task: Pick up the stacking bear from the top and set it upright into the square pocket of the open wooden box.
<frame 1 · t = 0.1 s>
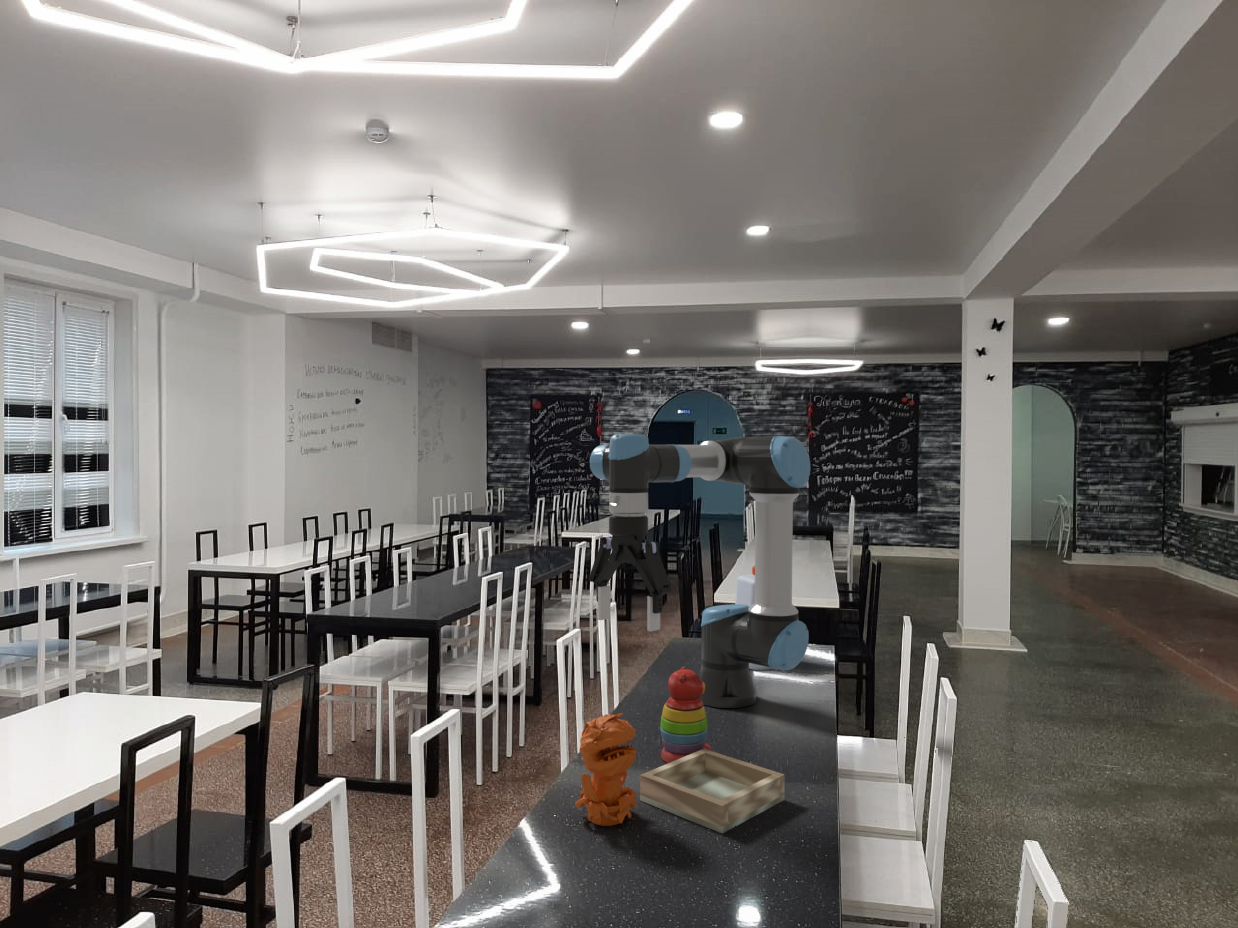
hand: (628, 624, 161), 28 cm above the table, tool pointing down, fingers open, 13 cm apart
stacking bear: (685, 759, 167), on the table
toy dinosaur: (607, 819, 139), on the table
plastic bottle: (762, 664, 240), on the table
open wooden box: (712, 799, 147), on the table
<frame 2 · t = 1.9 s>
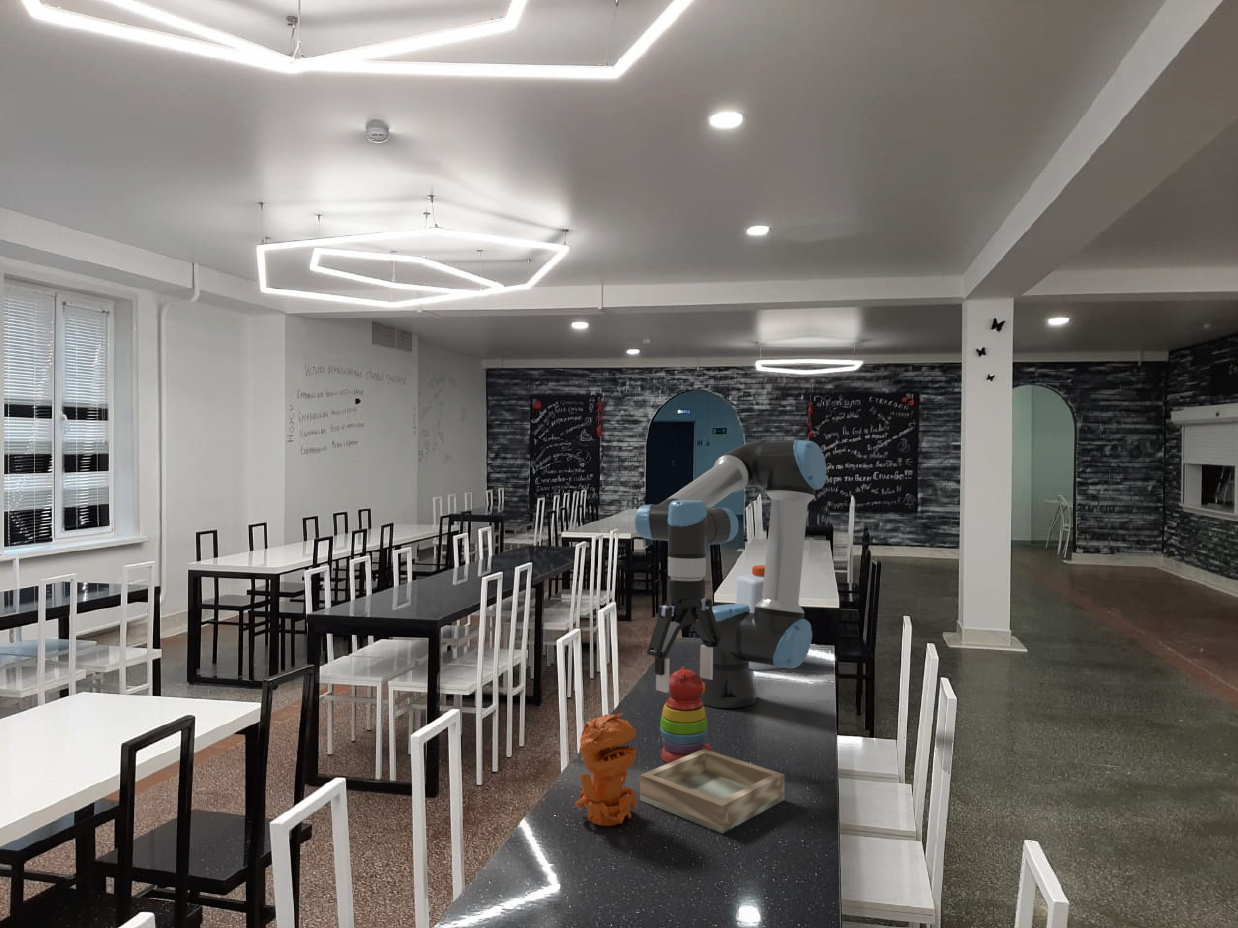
hand: (685, 684, 166), 15 cm above the table, tool pointing down, fingers open, 13 cm apart
nothing on the table moved.
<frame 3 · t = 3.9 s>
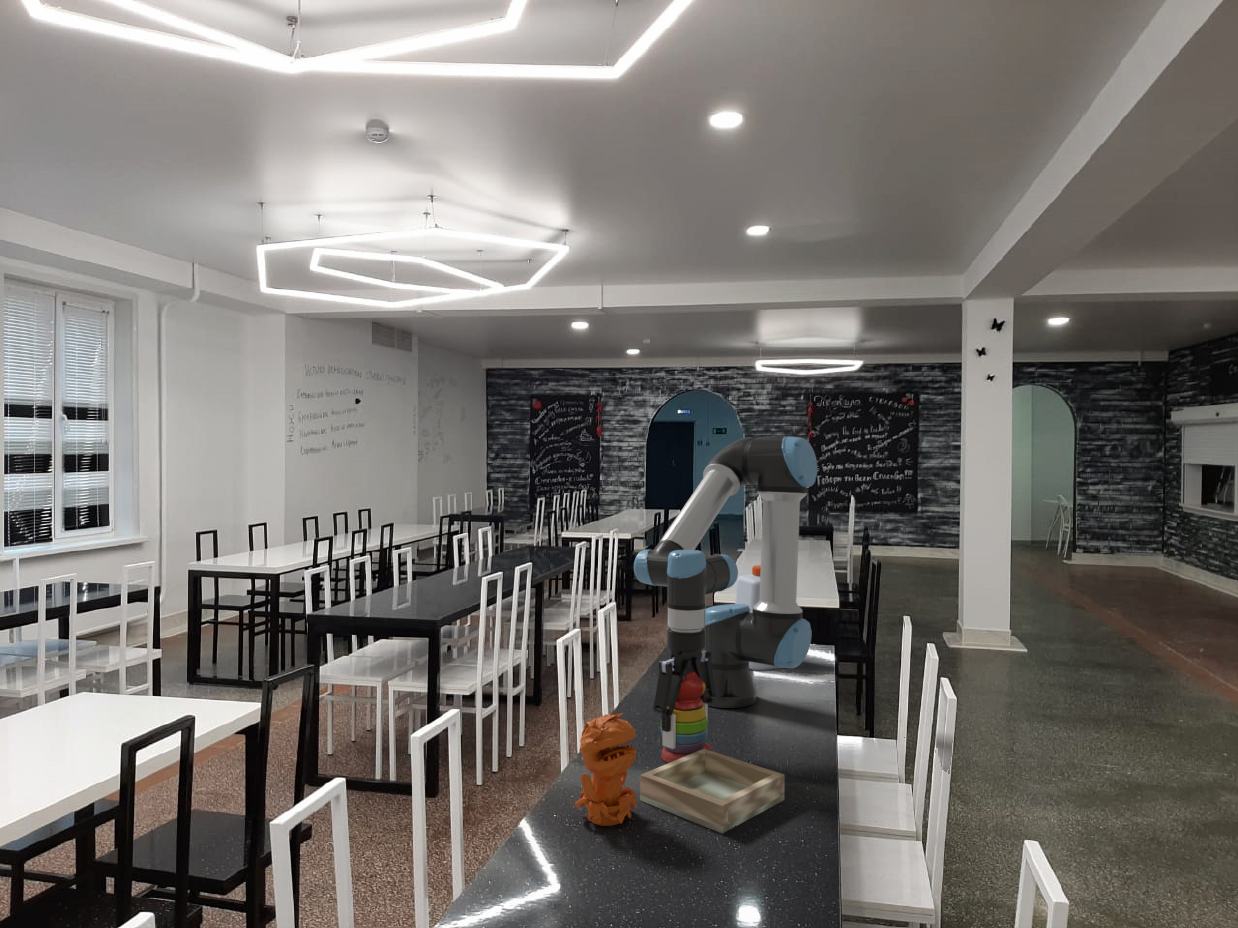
hand: (685, 740, 166), 4 cm above the table, tool pointing down, fingers closed on stacking bear, 9 cm apart
stacking bear: (685, 759, 167), on the table, touching gripper
everything else where it was.
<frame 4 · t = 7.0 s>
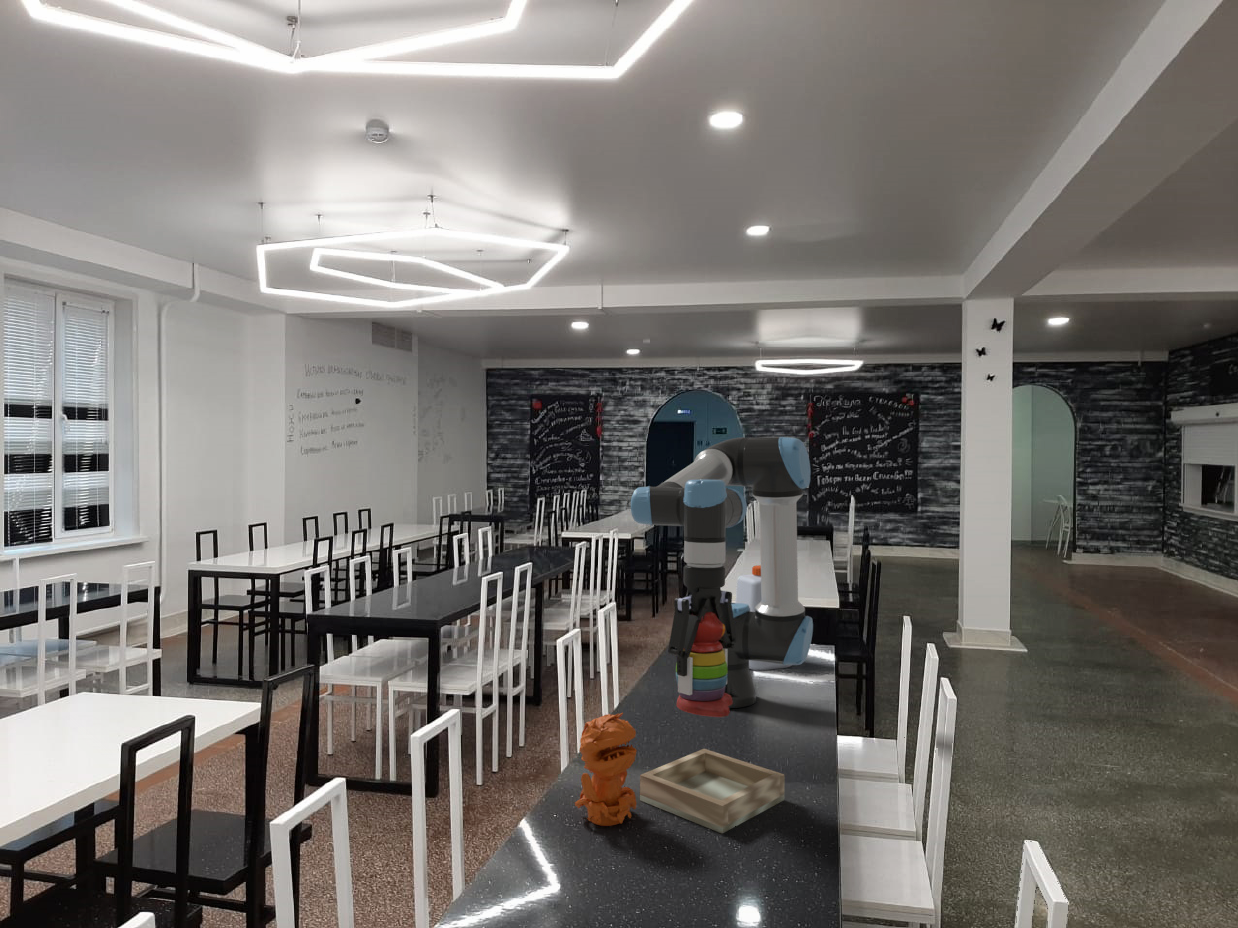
hand: (703, 687, 151), 18 cm above the table, tool pointing down, fingers closed on stacking bear, 9 cm apart
stacking bear: (703, 708, 152), point 15 cm above the table, touching gripper
everything else where it was.
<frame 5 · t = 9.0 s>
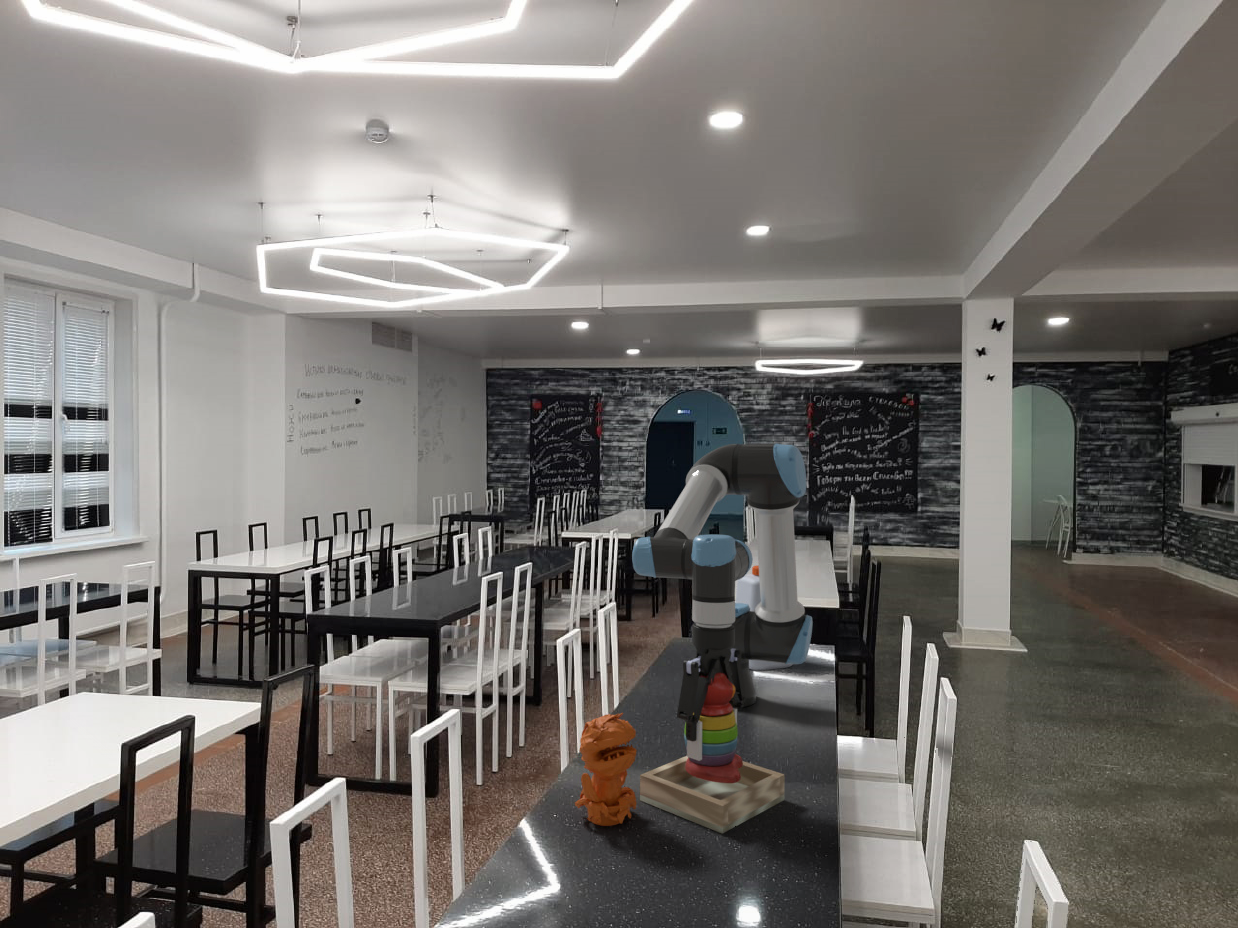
hand: (712, 750, 147), 9 cm above the table, tool pointing down, fingers closed on stacking bear, 9 cm apart
stacking bear: (712, 771, 147), point 5 cm above the table, touching gripper
everything else where it was.
when the fingers open (6 cm above the table, at t = 10.4 s): stacking bear drops 2 cm, resting on open wooden box.
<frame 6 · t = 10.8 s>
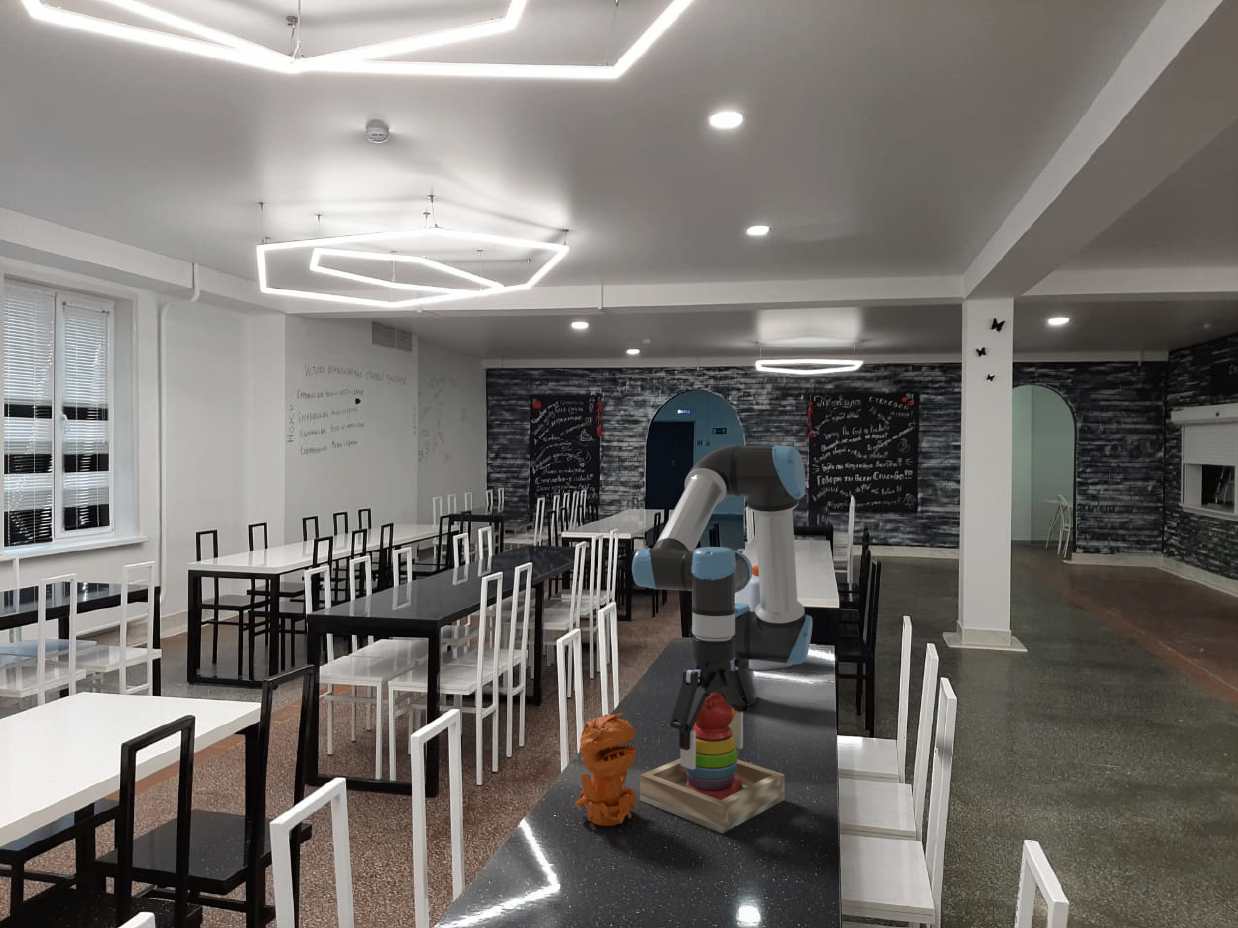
hand: (712, 756, 147), 8 cm above the table, tool pointing down, fingers open, 13 cm apart
stacking bear: (712, 794, 147), point 1 cm above the table, touching open wooden box
everything else where it was.
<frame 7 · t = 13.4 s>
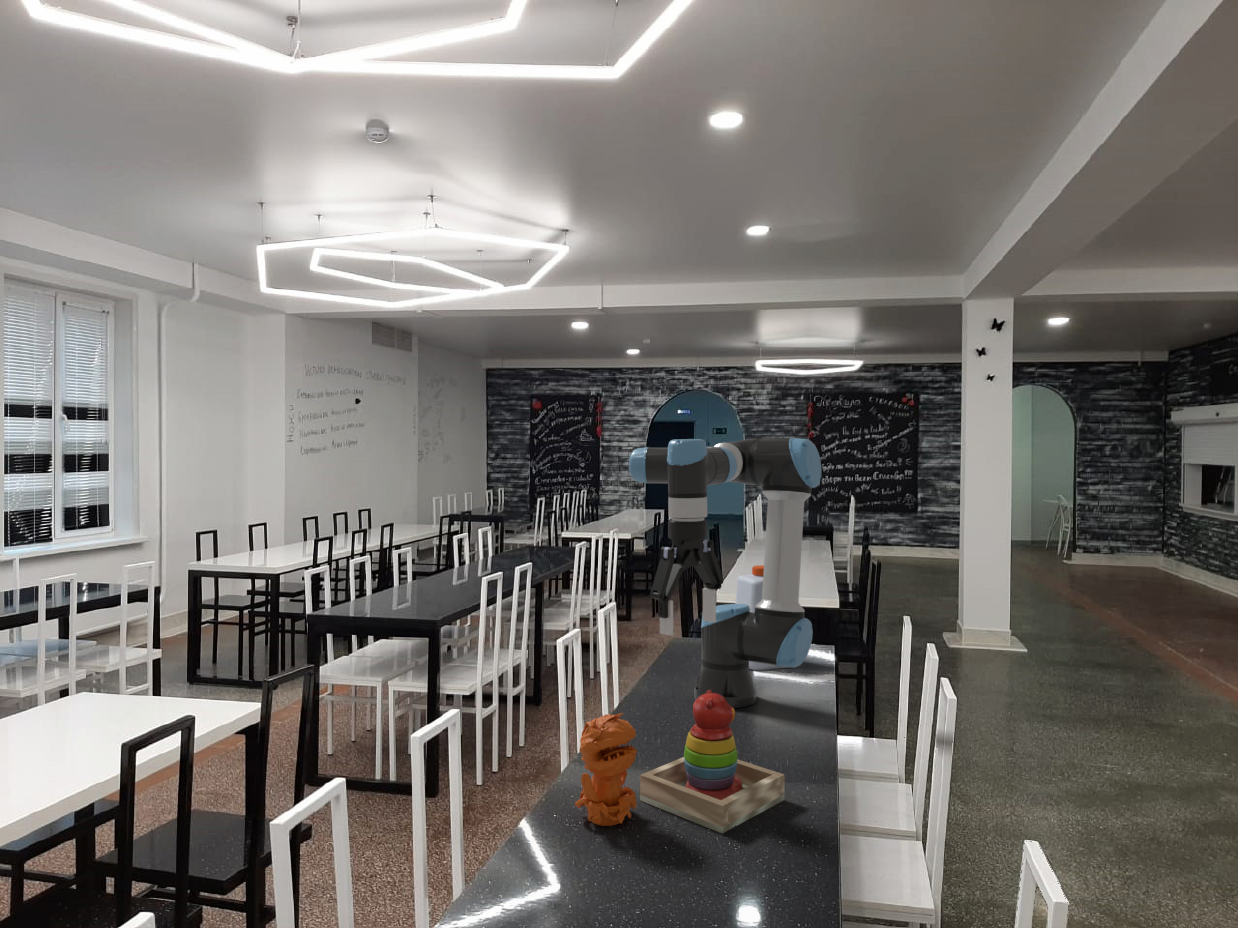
hand: (688, 627, 162), 27 cm above the table, tool pointing down, fingers open, 13 cm apart
nothing on the table moved.
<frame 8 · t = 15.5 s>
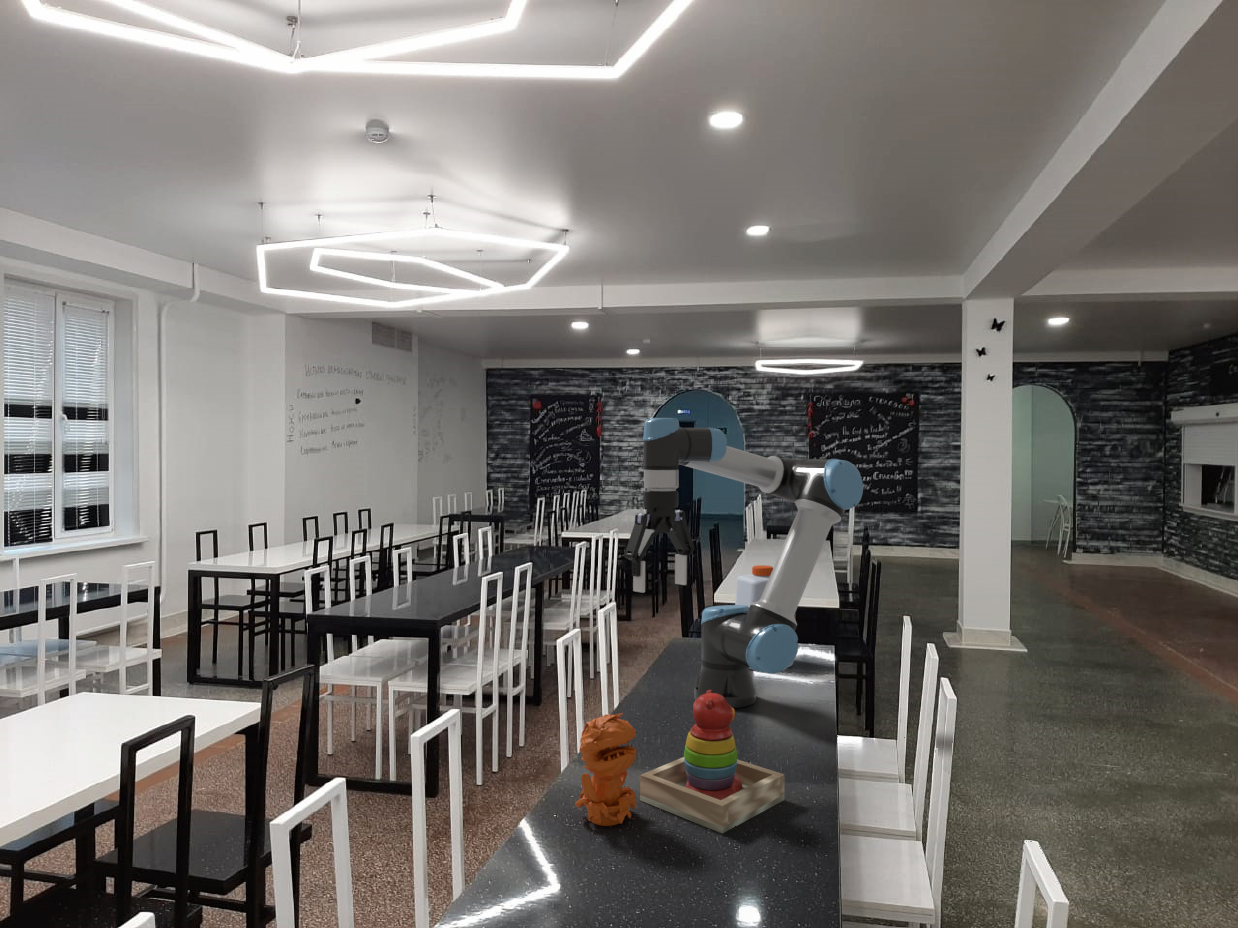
hand: (660, 588, 180), 32 cm above the table, tool pointing down, fingers open, 13 cm apart
nothing on the table moved.
at the end: stacking bear inside the target area on the open wooden box (0.2 cm from its centre), point 0.8 cm above the open wooden box's base; stacking bear tilted 0°; the gripper is holding nothing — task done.
